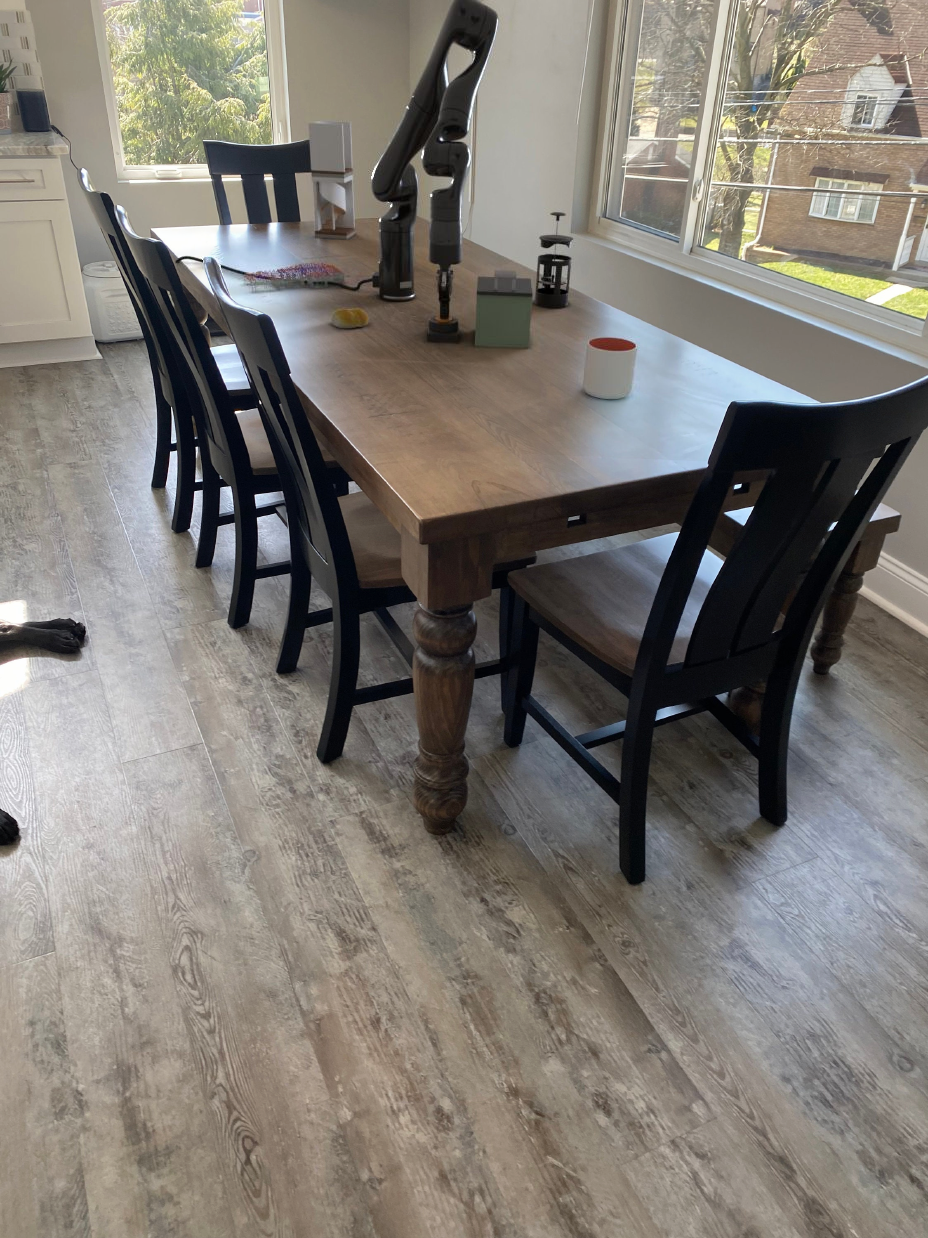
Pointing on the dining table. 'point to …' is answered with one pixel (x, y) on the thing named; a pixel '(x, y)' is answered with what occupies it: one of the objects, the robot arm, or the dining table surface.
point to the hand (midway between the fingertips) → (444, 317)
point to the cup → (609, 367)
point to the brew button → (443, 319)
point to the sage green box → (503, 321)
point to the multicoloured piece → (288, 278)
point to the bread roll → (349, 318)
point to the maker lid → (504, 285)
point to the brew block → (443, 330)
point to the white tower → (332, 178)
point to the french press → (555, 295)
